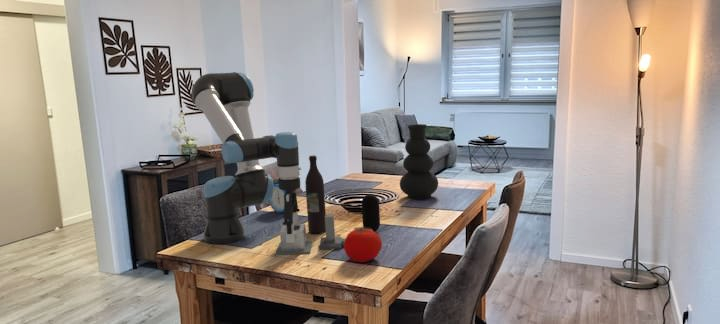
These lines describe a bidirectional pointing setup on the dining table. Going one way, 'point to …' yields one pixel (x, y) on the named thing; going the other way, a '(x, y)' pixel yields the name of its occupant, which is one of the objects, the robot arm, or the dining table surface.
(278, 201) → the alarm clock
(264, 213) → the dining table surface
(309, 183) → the wine bottle
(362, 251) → the tomato
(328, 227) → the post
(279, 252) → the rubber mat
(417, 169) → the vase
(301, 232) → the white block
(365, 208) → the decorative object
